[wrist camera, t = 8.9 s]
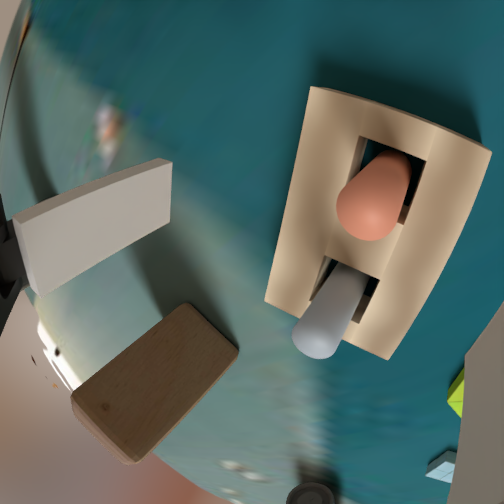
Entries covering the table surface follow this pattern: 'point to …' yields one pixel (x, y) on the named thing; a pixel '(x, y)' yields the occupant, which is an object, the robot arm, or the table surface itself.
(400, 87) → the table surface
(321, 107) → the hole block
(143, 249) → the table surface
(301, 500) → the bluetooth speaker
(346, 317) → the grey peg
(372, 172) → the red peg
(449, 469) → the pattern blocks set
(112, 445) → the wooden block
